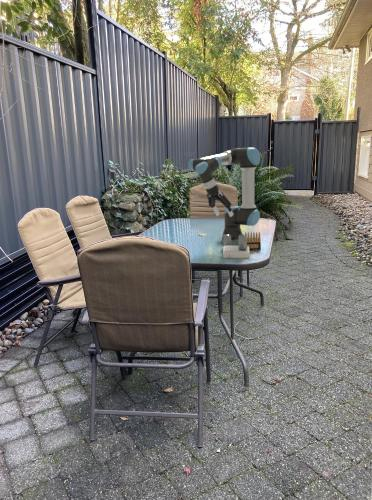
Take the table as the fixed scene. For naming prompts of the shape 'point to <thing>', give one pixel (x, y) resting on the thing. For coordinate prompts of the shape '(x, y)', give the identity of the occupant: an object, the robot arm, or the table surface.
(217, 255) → the table surface
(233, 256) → the scale
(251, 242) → the ammunition clip
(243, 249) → the cylinder
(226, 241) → the ball
